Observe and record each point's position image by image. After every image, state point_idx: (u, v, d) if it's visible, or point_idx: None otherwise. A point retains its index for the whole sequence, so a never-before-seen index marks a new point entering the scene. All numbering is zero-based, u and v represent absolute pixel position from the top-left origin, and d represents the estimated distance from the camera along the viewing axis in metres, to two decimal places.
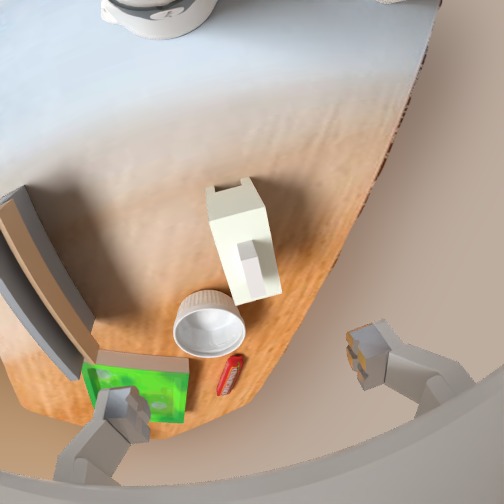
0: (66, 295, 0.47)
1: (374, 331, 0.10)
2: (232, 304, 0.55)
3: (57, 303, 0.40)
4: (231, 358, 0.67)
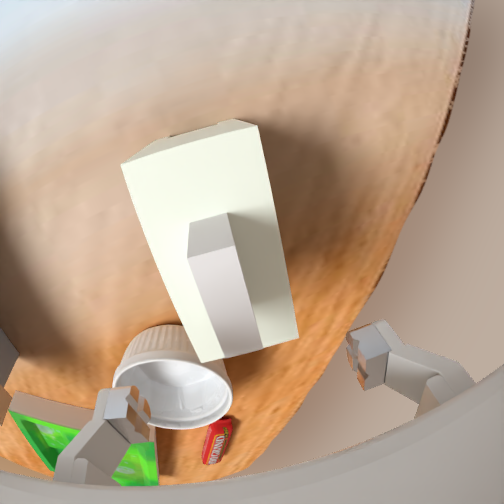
0: None
1: (374, 331, 0.10)
2: None
3: None
4: (214, 423, 0.41)
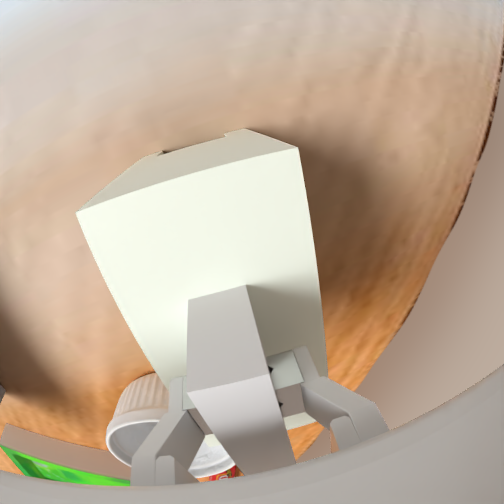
0: None
1: (291, 359, 0.10)
2: None
3: None
4: None
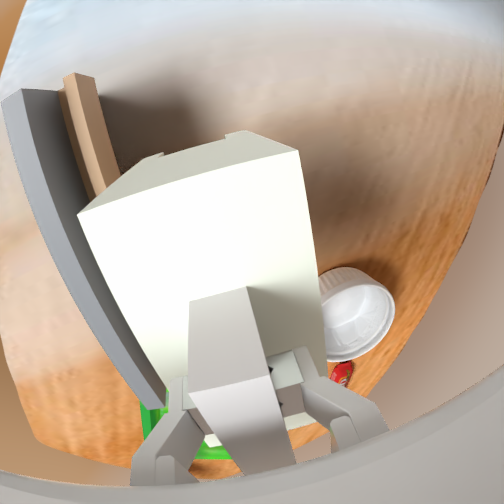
0: None
1: (291, 359, 0.10)
2: None
3: None
4: (339, 367, 0.50)
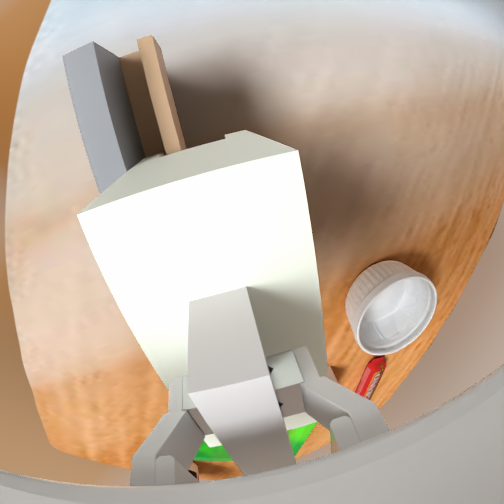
0: None
1: (291, 359, 0.10)
2: None
3: None
4: (373, 362, 0.48)
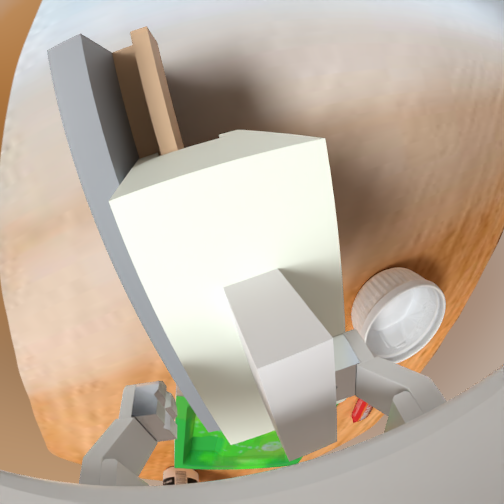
0: None
1: (344, 342, 0.10)
2: None
3: None
4: None
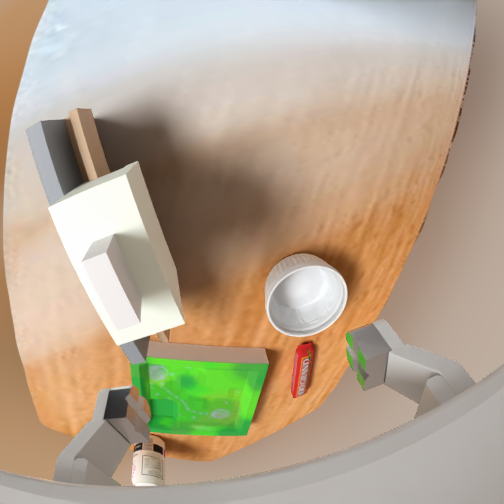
0: None
1: (374, 331, 0.10)
2: None
3: None
4: (299, 347, 0.57)
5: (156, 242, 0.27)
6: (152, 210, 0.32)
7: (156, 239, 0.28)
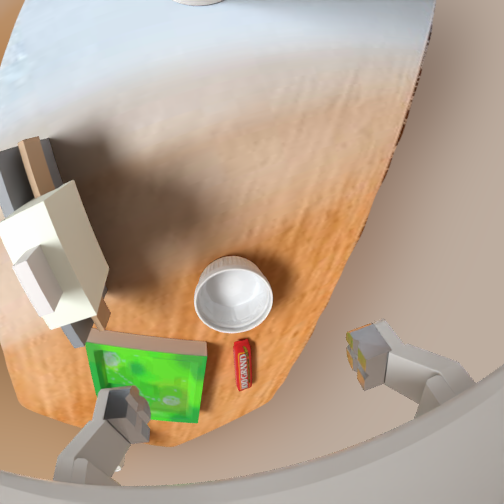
0: None
1: (374, 331, 0.10)
2: (258, 270, 0.52)
3: None
4: (235, 343, 0.62)
5: (77, 249, 0.31)
6: (83, 221, 0.36)
7: (78, 247, 0.32)
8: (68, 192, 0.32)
